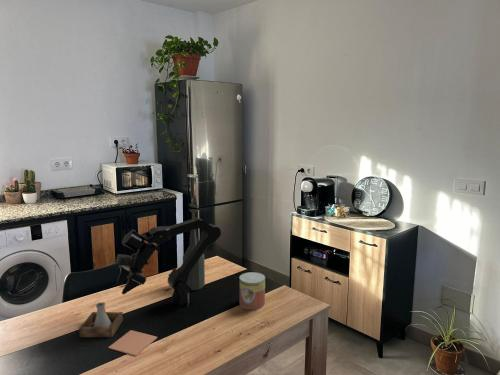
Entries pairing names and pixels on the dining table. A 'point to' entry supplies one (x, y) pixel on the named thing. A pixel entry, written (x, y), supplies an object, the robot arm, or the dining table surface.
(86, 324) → the walnut box
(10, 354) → the dining table surface
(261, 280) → the canned food
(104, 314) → the flask
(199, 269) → the bottle
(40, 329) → the dining table surface
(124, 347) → the terracotta mat
